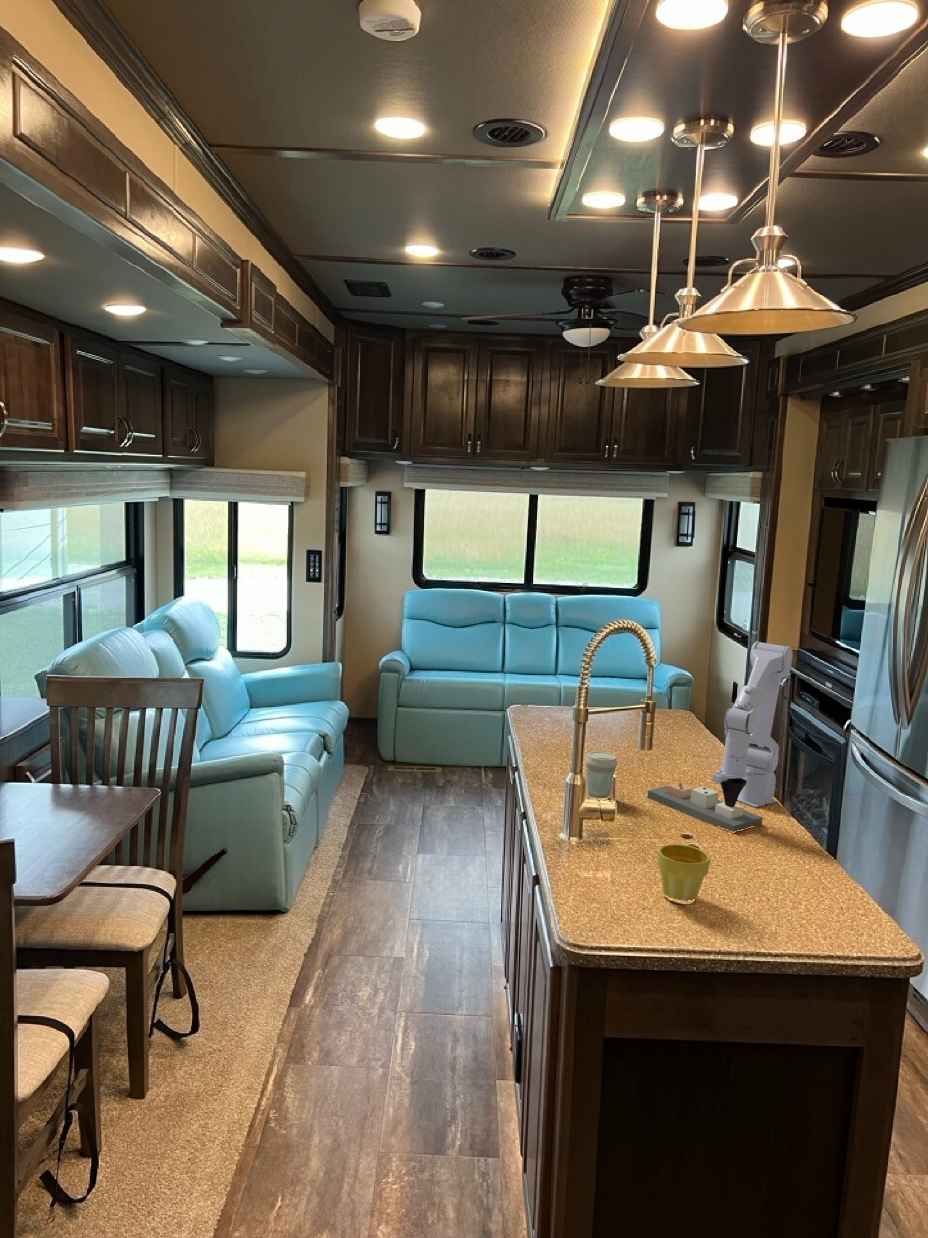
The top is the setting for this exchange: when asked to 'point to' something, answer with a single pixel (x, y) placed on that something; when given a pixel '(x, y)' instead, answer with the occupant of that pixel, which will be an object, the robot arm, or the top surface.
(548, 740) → the top surface
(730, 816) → the key one
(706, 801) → the key two
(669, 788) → the key three
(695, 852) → the plant pot
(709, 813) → the keypad board
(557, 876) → the top surface
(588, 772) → the coffee cup
